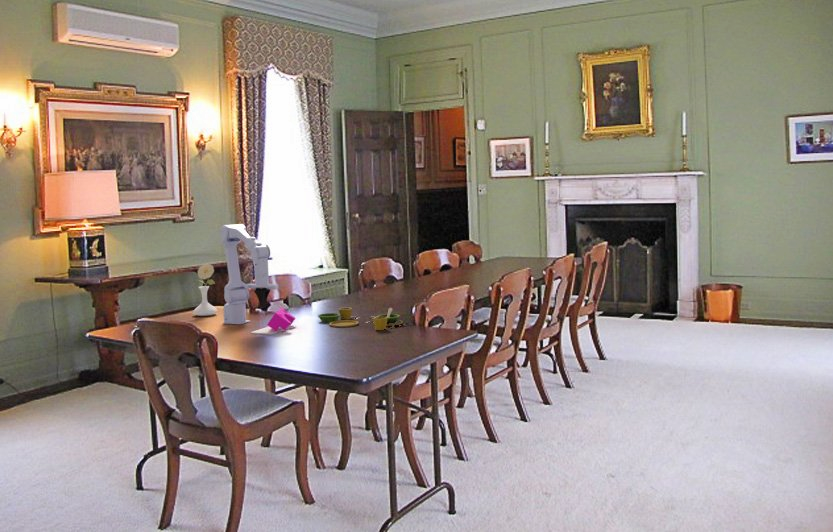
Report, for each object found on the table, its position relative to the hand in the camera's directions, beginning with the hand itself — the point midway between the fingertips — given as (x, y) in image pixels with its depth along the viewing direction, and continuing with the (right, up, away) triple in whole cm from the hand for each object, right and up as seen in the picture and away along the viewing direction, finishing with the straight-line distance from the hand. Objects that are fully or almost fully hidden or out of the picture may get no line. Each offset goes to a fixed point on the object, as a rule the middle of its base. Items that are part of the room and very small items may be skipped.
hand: (263, 305), depth 345 cm
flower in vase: (-35, -7, +42) cm, 55 cm away
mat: (+4, -10, -1) cm, 11 cm away
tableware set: (+42, -9, +10) cm, 44 cm away
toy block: (+5, -4, 0) cm, 6 cm away
